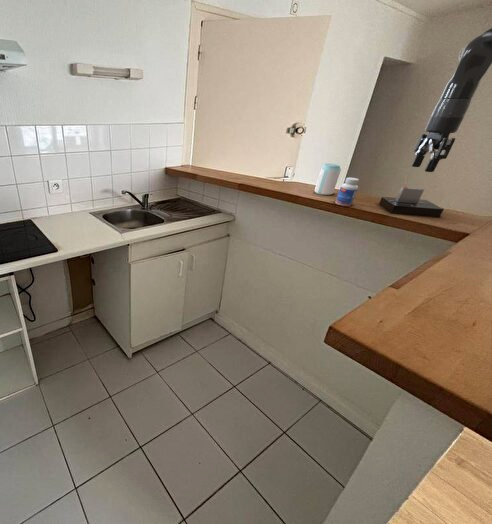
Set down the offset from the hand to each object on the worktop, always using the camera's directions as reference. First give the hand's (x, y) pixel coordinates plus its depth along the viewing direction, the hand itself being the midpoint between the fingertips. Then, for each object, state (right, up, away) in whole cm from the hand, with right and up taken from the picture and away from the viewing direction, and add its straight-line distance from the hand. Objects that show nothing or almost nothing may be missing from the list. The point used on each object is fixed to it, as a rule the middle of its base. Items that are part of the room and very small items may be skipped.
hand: (421, 169), depth 95 cm
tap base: (+2, -13, +7) cm, 15 cm away
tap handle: (0, -10, +6) cm, 12 cm away
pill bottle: (-17, -9, +14) cm, 24 cm away
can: (-16, -2, +27) cm, 31 cm away
